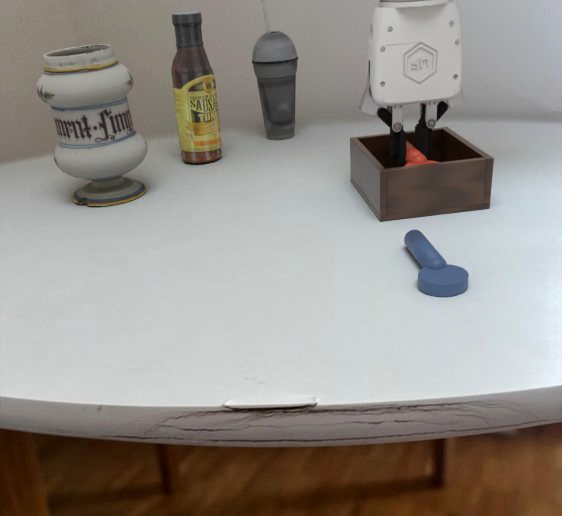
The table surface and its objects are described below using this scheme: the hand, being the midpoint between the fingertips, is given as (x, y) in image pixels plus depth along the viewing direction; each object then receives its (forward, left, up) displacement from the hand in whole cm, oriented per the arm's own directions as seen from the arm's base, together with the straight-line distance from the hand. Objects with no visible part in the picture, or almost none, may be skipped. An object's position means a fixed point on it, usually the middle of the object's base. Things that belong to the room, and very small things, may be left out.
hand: (410, 160), depth 84 cm
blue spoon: (+5, +24, -4) cm, 25 cm away
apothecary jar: (+38, -12, -4) cm, 40 cm away
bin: (0, +2, -4) cm, 4 cm away
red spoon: (0, +2, 0) cm, 2 cm away
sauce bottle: (+25, -25, -4) cm, 35 cm away
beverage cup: (+12, -34, -4) cm, 36 cm away
